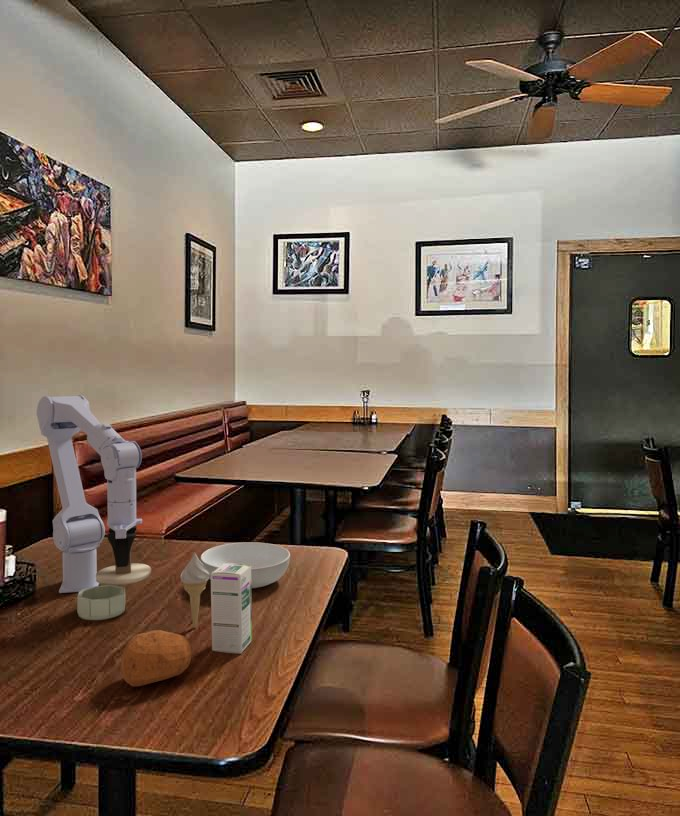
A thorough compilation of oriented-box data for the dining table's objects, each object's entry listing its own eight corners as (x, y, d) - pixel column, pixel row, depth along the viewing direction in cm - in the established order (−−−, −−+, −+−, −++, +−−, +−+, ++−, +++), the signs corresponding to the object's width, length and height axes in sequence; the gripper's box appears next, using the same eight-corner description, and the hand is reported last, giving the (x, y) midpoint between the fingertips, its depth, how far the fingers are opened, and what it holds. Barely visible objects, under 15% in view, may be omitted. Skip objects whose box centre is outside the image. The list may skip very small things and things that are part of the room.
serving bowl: (182, 590, 146) (181, 560, 145) (231, 564, 165) (231, 538, 165) (263, 604, 138) (263, 572, 138) (304, 575, 157) (305, 547, 157)
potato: (120, 670, 107) (120, 626, 107) (189, 661, 111) (189, 618, 111) (121, 697, 99) (121, 649, 98) (196, 686, 102) (196, 640, 102)
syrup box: (241, 654, 114) (241, 573, 113) (210, 651, 115) (210, 571, 114) (252, 641, 119) (252, 564, 118) (222, 638, 120) (222, 561, 119)
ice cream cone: (215, 624, 127) (214, 549, 126) (199, 635, 121) (199, 557, 120) (190, 620, 129) (190, 546, 128) (174, 631, 123) (174, 554, 122)
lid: (97, 571, 140) (96, 548, 139) (150, 565, 143) (149, 543, 142) (93, 587, 129) (92, 563, 129) (151, 581, 132) (149, 557, 132)
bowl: (80, 605, 136) (80, 587, 135) (125, 602, 138) (125, 583, 138) (75, 622, 127) (75, 602, 127) (123, 617, 129) (123, 598, 129)
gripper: (141, 506, 129) (142, 572, 130) (142, 492, 143) (142, 552, 144) (104, 508, 127) (104, 575, 128) (108, 493, 141) (109, 555, 142)
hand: (122, 563), depth 136 cm, fingers closed on lid, 3 cm apart
